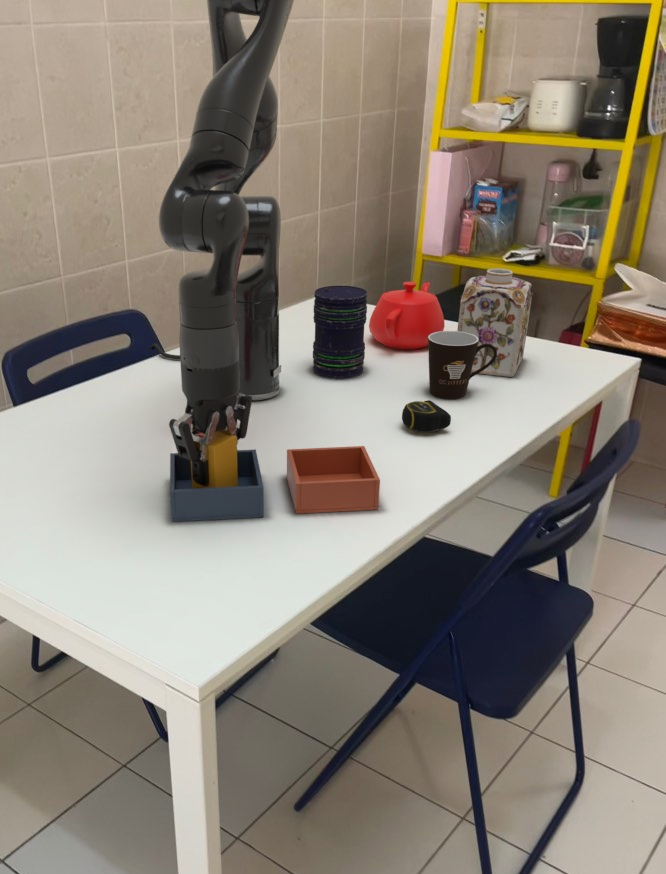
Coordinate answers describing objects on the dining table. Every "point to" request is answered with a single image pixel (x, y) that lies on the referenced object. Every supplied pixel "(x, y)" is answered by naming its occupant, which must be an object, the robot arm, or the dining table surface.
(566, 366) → the dining table surface
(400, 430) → the dining table surface
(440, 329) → the teapot
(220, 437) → the mustard box
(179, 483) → the slate bin
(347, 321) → the storage jar
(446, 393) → the coffee mug
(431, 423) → the tape measure
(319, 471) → the terracotta bin
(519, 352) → the decorative jar
